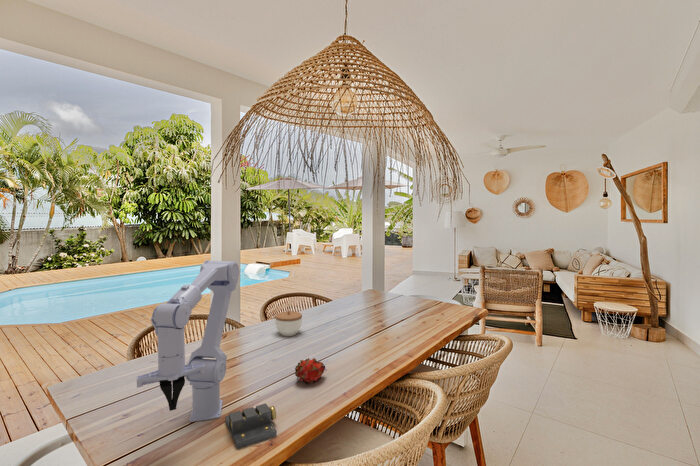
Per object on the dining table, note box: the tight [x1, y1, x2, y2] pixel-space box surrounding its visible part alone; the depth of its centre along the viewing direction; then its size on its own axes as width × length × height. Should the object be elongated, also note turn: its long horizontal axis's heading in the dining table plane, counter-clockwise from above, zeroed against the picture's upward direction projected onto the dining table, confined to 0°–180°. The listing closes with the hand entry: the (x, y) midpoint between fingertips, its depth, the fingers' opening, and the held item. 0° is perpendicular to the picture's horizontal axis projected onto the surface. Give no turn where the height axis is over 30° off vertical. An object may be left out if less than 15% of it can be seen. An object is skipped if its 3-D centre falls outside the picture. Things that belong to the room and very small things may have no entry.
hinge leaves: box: [224, 403, 278, 450], centre depth 94 cm, size 13×10×4 cm
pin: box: [230, 405, 277, 429], centre depth 94 cm, size 3×11×3 cm, turn 121°
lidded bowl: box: [274, 310, 303, 337], centre depth 168 cm, size 13×13×11 cm
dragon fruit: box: [294, 357, 326, 385], centre depth 121 cm, size 8×8×12 cm
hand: (172, 408), depth 85 cm, fingers closed
